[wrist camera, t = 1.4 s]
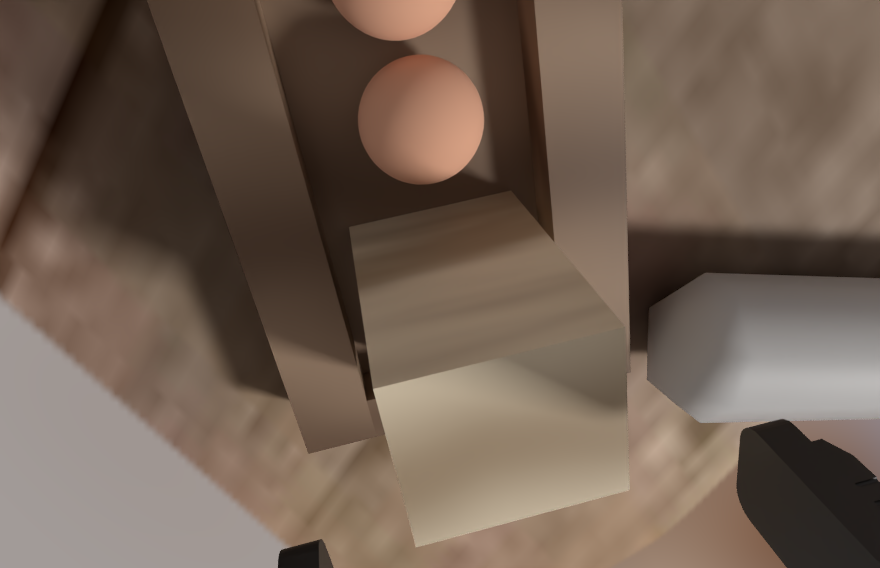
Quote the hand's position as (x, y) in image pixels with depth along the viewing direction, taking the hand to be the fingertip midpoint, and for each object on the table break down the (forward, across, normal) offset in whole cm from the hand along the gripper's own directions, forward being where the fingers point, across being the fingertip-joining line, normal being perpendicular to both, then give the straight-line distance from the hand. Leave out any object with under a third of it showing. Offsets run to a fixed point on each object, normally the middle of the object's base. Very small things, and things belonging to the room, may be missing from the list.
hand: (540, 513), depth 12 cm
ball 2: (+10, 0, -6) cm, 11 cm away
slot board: (+11, 0, -4) cm, 11 cm away
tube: (+11, -18, +7) cm, 23 cm away
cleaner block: (+10, 0, 0) cm, 10 cm away
